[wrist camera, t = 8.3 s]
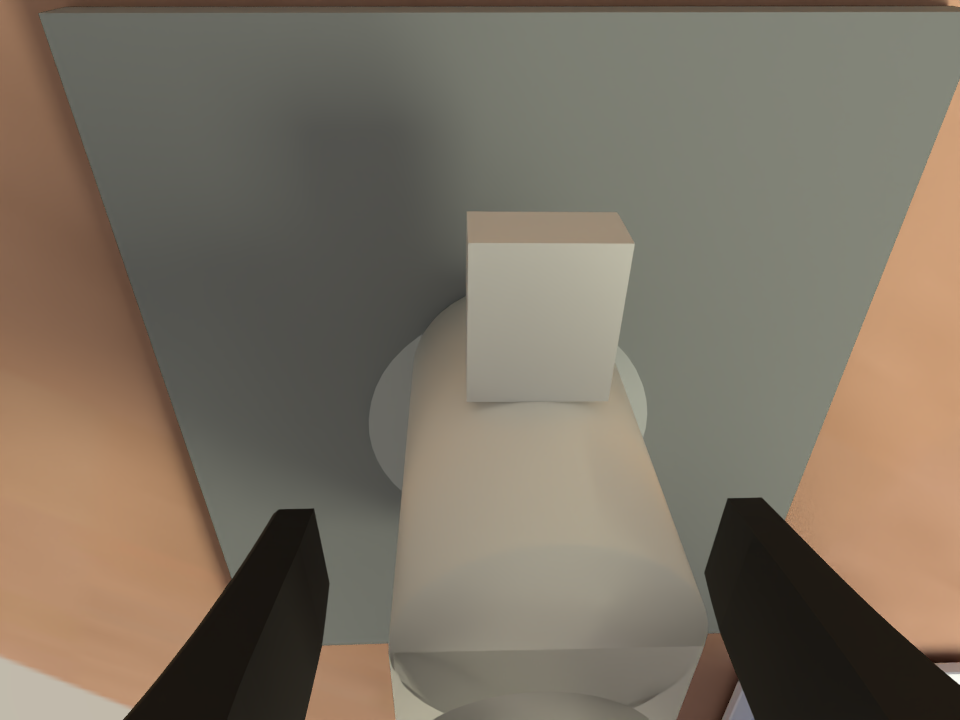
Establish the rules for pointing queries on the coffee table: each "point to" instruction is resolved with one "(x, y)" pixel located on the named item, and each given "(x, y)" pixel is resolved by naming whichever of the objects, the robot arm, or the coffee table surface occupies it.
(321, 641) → the robot arm
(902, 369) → the coffee table surface
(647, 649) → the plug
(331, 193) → the mat
